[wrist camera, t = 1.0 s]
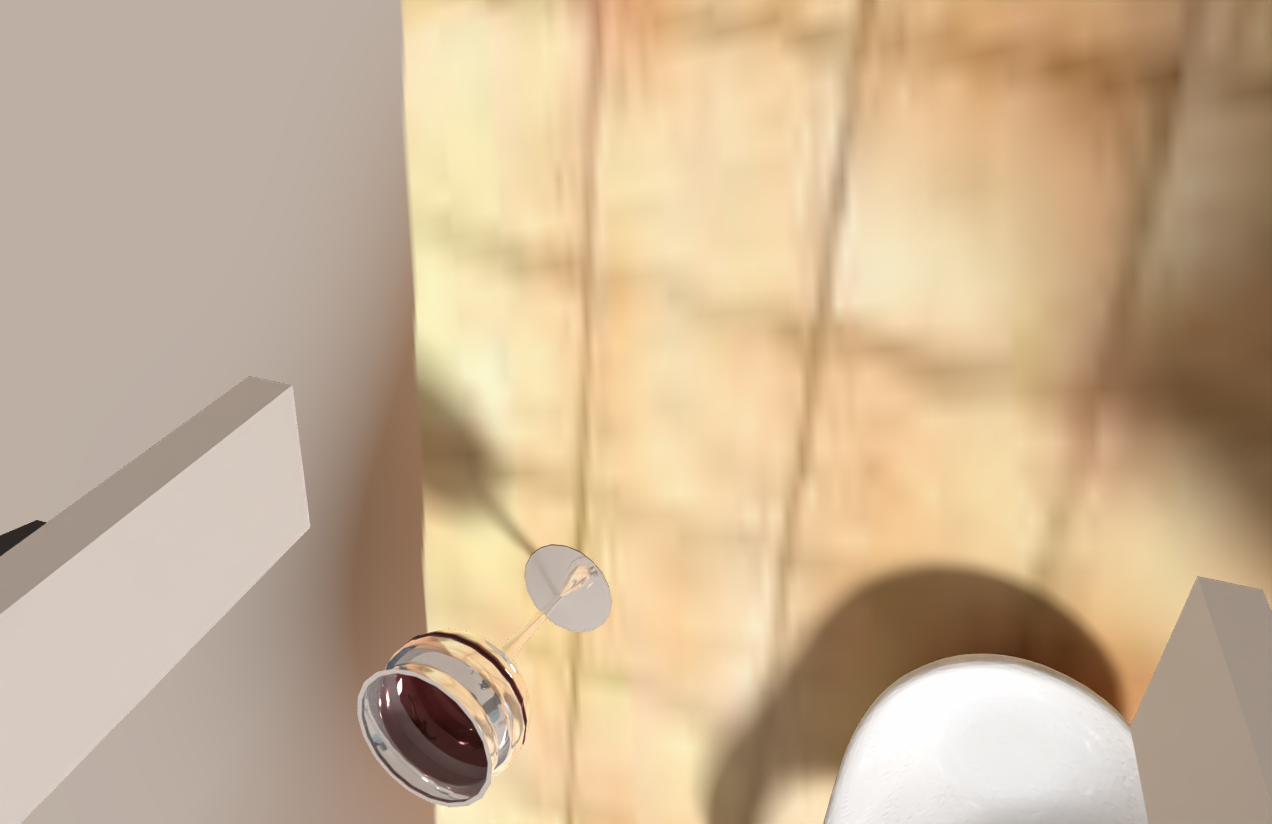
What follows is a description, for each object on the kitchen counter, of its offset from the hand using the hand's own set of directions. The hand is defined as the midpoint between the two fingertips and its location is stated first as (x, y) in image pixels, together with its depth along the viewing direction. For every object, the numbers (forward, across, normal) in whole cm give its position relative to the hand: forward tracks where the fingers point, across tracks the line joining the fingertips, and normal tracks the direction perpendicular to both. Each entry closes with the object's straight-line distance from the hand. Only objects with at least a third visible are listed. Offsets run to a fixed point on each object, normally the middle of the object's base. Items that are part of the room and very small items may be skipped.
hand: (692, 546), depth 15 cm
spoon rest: (+22, -8, +29) cm, 37 cm away
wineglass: (+25, +10, +24) cm, 36 cm away
